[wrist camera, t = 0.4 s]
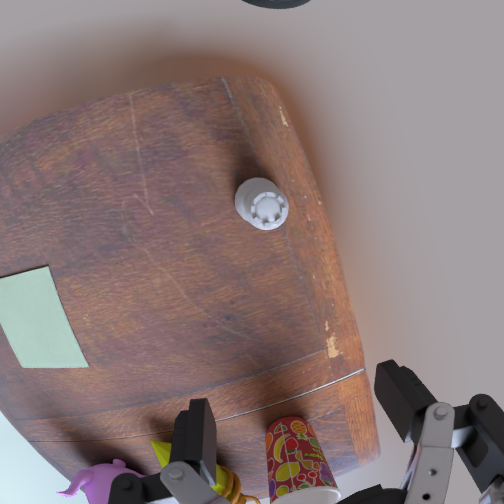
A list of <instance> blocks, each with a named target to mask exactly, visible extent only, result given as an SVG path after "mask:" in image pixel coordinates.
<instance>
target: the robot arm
mask: <svg viewBox="0 0 504 504" xmlns="http://www.w3.org/2000/svg"><path fill="white" fill-rule="evenodd" d="M374 391H375V395H376V397H377V399H378V401H379V402H380V404H381V405H382V407H383V409H384V411H385V412H386V414H387V415H388V417H389V419H390V420H391V422H392V424H393V425H394V427H395V429H396V430H397V432H398V434H399V435H400V437H401V438H402V440H403V442H404V443H406V442H408V441H410V440H412V441H413V443H414V445H413V448H412V452H411V456H410V460H409V463H408V466H407V470H406V473H405V476H404V479H403V482H402V484H401V486H400V489H397V488H387V489H382V487H381V485H380V484H379V485H376V486H373V487H370V488H367V489H364V490H361V491H358V492H356V493H354V494H352V495H351V496H349V497H347V498H345V499H343V500H341V501H339V502H337V503H335V504H444V501H445V497H446V493H447V489H448V484H449V478H450V474H451V468H452V462H453V455H454V448H455V449H456V451H457V452H458V454H459V456H460V457H461V459H462V461H463V462H464V464H465V466H466V467H467V469H468V471H469V473H470V474H471V476H472V478H473V480H474V481H475V483H476V485H477V487H478V488H479V490H480V492H481V494H482V495H481V497H480V500H479V504H504V412H503V410H502V409H501V408H500V407H499V406H498V405H497V403H496V402H495V401H494V400H493V399H492V398H491V397H490V396H489V395H486V394H478V395H475V396H473V397H472V398H471V400H470V402H469V404H467V405H462V406H458V407H451V405H450V404H448V403H445V402H438V401H437V400H436V399H435V397H434V396H433V395H432V394H431V393H430V391H429V390H428V389H427V388H426V386H425V385H424V384H422V382H421V381H420V380H419V378H418V377H417V376H416V375H415V373H414V372H413V371H412V370H410V369H409V368H407V367H405V366H402V367H399V366H398V365H397V363H396V362H395V361H394V360H388V361H385V362H382V363H379V364H377V368H376V377H375V384H374ZM211 486H216V423H215V419H214V416H213V413H212V410H211V407H210V405H209V402H208V399H207V398H201V399H191V400H190V405H189V410H185V411H181V412H180V413H179V415H178V416H177V417H176V419H175V425H174V431H173V438H172V444H171V451H170V458H169V463H168V464H167V465H166V466H164V467H163V469H162V470H161V472H160V473H157V474H154V475H150V476H146V477H141V478H139V477H138V476H137V475H136V474H133V473H122V474H119V475H117V476H116V477H115V478H114V479H113V481H112V483H111V488H110V493H109V499H108V504H232V503H231V502H230V501H229V500H227V499H226V498H225V497H224V496H222V495H219V494H218V493H217V492H216V491H215V490H214V489H213V488H212V487H211Z"/></svg>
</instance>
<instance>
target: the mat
mask: <svg viewBox="0 0 504 504" xmlns="http://www.w3.org/2000/svg"><path fill="white" fill-rule="evenodd" d="M0 323H1V325H2V327H3V330H4V332H5V334H6V336H7V338H8V341H9V343H10V345H11V347H12V349H13V351H14V353H15V355H16V357H17V359H18V360H19V362H20V364H21V366H22V368H74V367H89V364H88V362H87V360H86V358H85V356H84V354H83V352H82V350H81V348H80V346H79V344H78V341H77V339H76V337H75V335H74V332H73V330H72V328H71V325H70V323H69V321H68V318H67V316H66V313H65V311H64V308H63V306H62V303H61V300H60V298H59V295H58V292H57V289H56V286H55V283H54V281H53V278H52V275H51V271H50V268H49V266H47V267H43V268H39V269H35V270H31V271H27V272H23V273H19V274H16V275H12V276H8V277H4V278H0Z"/></svg>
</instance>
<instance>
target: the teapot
mask: <svg viewBox="0 0 504 504" xmlns="http://www.w3.org/2000/svg"><path fill="white" fill-rule="evenodd" d="M125 467H126V463H125V462H123V461H122V460H119V459H114V460H113V464H98V465H95V466H92V467H90V468H88V469H87V470H81V471H79V472H78V473H76V474H75V476H74V477H73V480H72V482H71V485H70V487H69V488H68V489H67V490H66V491H63V492H57V493H58V494H60V495H63V496H66V497H72V496H74V495H76V493H77V492H78V490H79V488H80V486H81V485H83V484H84V490H85V494H86V496H87V499H88V502H89V504H108V499H109V493H110V488H111V483H112V481H113V479H114V478H115V477H116V476H117V475H119V474H122V473H133V474H136V475H137V476H138V477H139V478H141V477H146V476H147V475H141V474H139V473H137V472H135V471H133V470H130V469H128V468H125Z"/></svg>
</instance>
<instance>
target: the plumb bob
mask: <svg viewBox="0 0 504 504" xmlns="http://www.w3.org/2000/svg"><path fill="white" fill-rule="evenodd" d="M150 441H151V444H152V446H153V448H154V451H155V453H156V455H157V458H158V460H159V462H160V465H161V467H162V469H163V467H164V466H166V465H167V464H168V463H169V458H170V451H171V443H166V442H161V441H156V440H151V439H150ZM211 487H212V488H213V489H214V490H215V491H216V492H217V493H218V494H219V495H222V496H224V497H225V498H226V499H227V500H229V501H230V502H231V503H232V504H245V503H246V498H247V499H252V500H254V501H256V503H257V504H260V501H259V500H258V499H257V498H255V497H253V496H248V495H243V494H242V493H240V491H241V483H240V479H239V477H238V476H237V475H236V474H235V473H233V472H231V471H230V470H229V469H228V468H227V467H224V466H219V465H218V464H217V463H216V486H211Z"/></svg>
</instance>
